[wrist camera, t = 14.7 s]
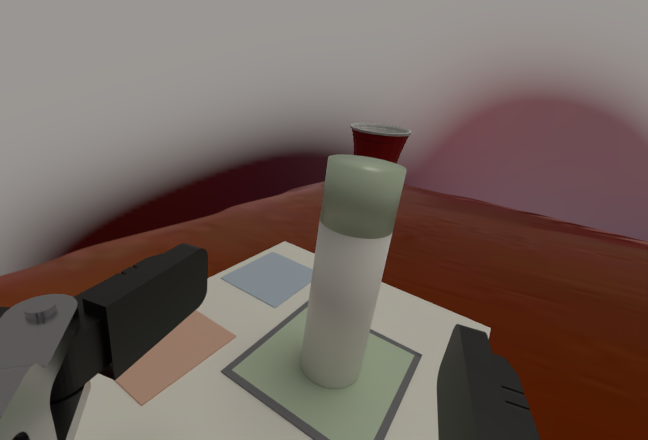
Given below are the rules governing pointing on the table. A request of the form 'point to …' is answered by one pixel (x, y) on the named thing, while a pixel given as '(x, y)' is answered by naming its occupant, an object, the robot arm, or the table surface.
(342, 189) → the marker
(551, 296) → the table surface
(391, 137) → the plastic cup
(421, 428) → the picture board
